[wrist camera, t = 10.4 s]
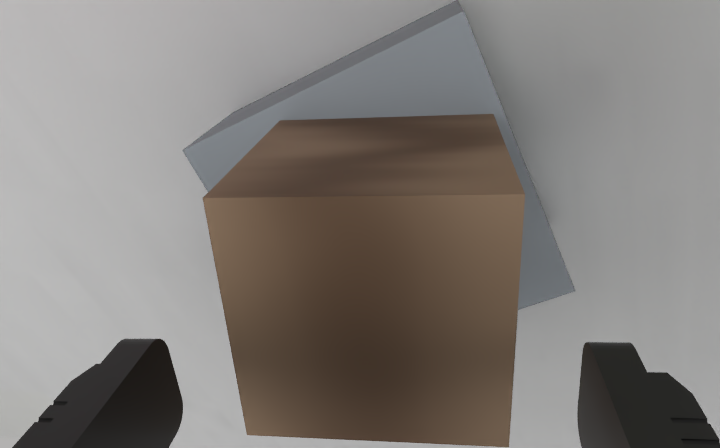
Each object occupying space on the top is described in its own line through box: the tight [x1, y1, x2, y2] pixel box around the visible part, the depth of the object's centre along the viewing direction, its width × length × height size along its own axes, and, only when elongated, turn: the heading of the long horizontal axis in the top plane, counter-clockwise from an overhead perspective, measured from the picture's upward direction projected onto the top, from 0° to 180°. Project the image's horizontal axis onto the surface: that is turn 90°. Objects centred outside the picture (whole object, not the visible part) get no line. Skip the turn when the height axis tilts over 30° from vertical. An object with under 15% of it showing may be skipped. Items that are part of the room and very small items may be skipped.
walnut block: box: [203, 114, 525, 447], centre depth 14 cm, size 6×6×6 cm
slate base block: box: [182, 0, 575, 310], centre depth 19 cm, size 9×9×5 cm
